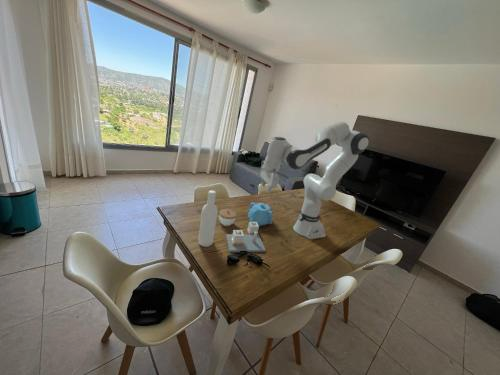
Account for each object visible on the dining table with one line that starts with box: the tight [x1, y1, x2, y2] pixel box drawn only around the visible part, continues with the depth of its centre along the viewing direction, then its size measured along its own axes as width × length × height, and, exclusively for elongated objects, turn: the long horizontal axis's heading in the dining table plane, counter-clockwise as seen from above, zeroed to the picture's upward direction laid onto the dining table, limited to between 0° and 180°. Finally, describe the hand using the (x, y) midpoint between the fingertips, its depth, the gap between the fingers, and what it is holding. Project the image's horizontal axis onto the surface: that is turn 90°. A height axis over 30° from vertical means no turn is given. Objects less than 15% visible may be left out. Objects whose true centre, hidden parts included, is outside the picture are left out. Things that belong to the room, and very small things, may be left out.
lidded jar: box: [218, 208, 237, 227], centre depth 129 cm, size 11×11×9 cm
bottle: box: [197, 189, 218, 248], centre depth 105 cm, size 8×8×30 cm
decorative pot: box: [247, 202, 274, 227], centre depth 139 cm, size 16×16×14 cm
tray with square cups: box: [225, 231, 266, 253], centre depth 114 cm, size 20×14×8 cm
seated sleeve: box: [231, 229, 244, 245], centre depth 113 cm, size 6×6×6 cm
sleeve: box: [246, 221, 260, 235], centre depth 126 cm, size 6×6×6 cm
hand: (265, 189), depth 118 cm, fingers open, 8 cm apart
